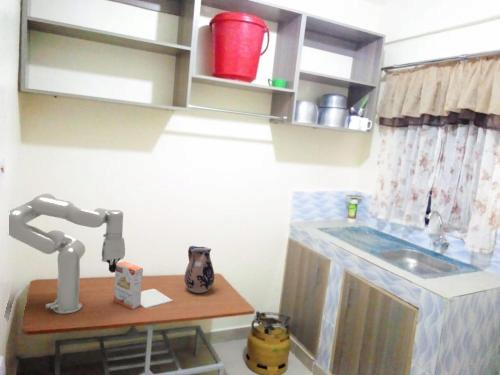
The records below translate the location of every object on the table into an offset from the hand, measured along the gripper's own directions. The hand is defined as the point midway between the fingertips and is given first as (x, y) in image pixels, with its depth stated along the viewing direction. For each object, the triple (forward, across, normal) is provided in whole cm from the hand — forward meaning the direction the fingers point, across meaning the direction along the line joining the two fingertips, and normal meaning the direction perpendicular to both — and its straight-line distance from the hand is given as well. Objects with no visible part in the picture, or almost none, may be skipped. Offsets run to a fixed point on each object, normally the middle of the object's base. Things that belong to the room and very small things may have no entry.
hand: (112, 271), depth 182 cm
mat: (+20, +22, 0) cm, 30 cm away
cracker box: (+20, +9, 0) cm, 22 cm away
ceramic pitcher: (+20, +52, -3) cm, 55 cm away
